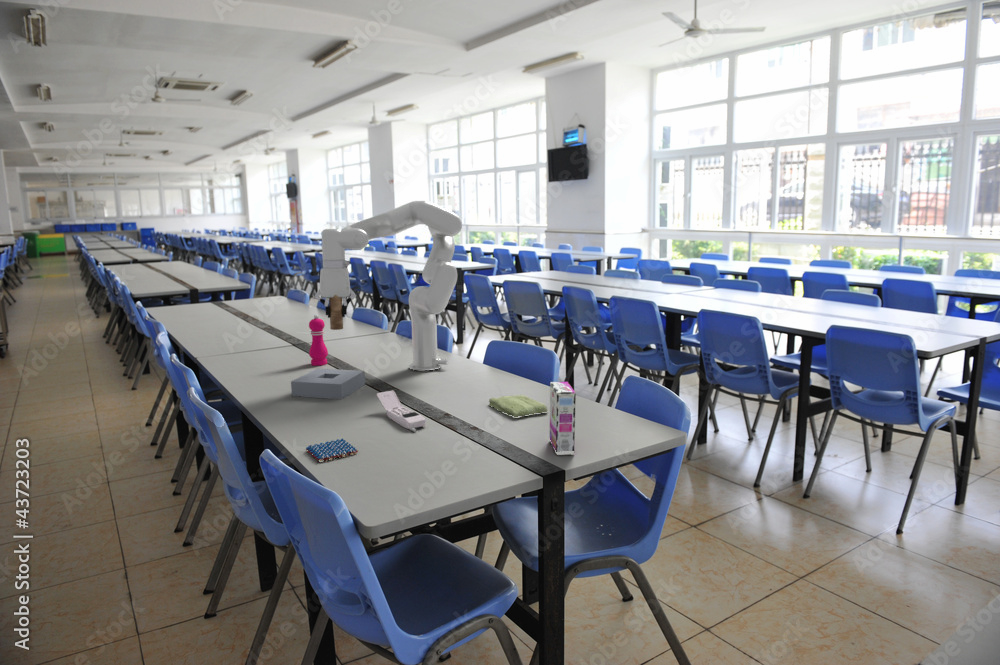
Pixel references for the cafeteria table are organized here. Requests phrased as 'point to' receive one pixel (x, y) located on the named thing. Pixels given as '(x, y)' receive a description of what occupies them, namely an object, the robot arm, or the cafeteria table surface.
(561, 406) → the candy bar box
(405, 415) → the mobile phone
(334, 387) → the socket block
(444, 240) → the robot arm
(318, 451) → the woven mat
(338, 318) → the peg
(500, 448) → the cafeteria table surface
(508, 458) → the cafeteria table surface
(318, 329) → the pepper mill
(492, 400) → the washcloth
